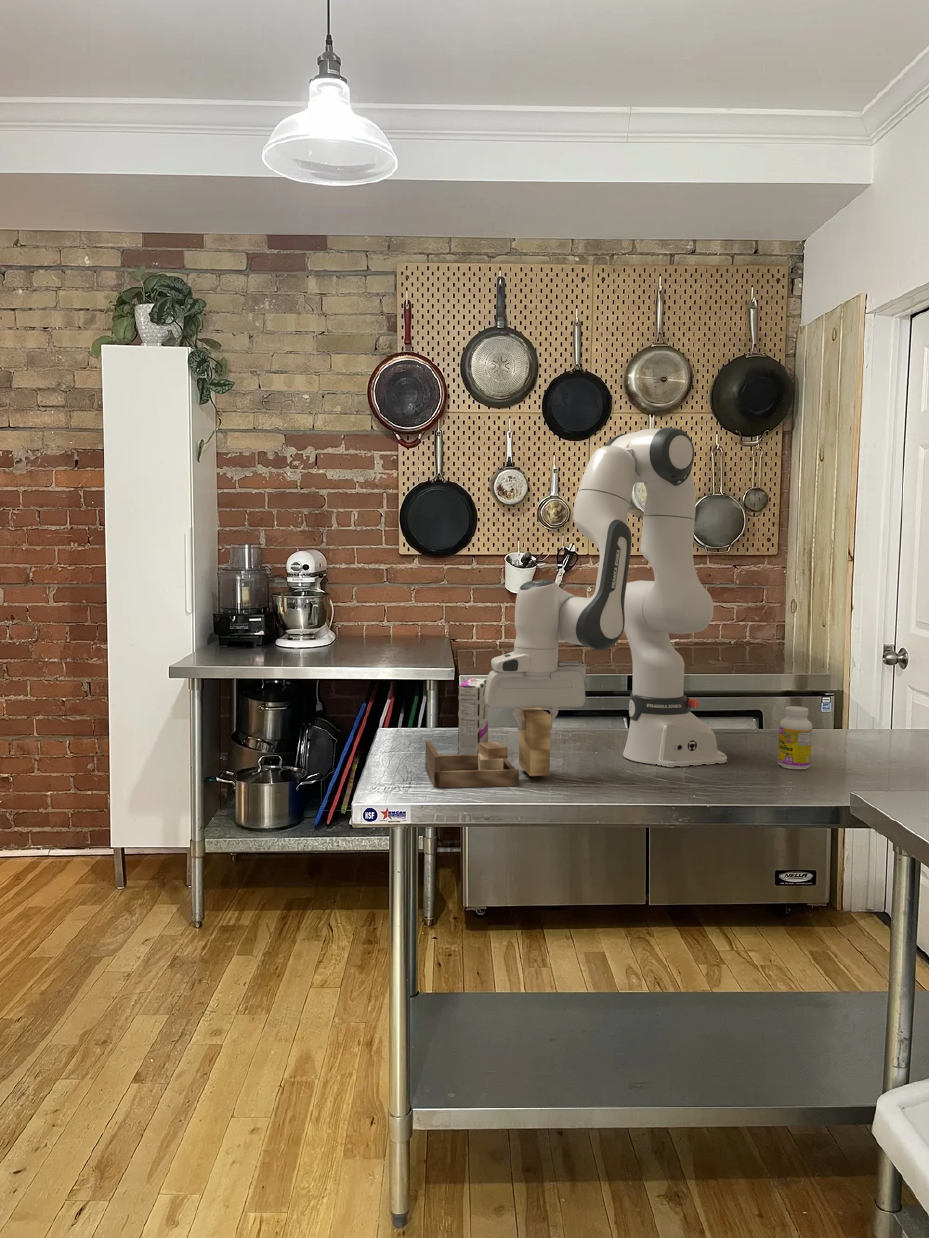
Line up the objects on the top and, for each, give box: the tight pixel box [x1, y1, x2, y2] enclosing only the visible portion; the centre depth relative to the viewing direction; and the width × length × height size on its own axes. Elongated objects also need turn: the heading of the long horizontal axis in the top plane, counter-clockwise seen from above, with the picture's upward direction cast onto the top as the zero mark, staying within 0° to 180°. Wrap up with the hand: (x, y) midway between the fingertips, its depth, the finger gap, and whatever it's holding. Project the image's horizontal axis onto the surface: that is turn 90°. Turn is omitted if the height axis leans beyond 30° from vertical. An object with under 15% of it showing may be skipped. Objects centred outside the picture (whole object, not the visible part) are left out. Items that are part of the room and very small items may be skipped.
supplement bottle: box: [777, 705, 813, 768], centre depth 203 cm, size 7×7×13 cm
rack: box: [424, 740, 520, 788], centre depth 190 cm, size 16×14×6 cm
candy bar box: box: [457, 677, 489, 755], centre depth 209 cm, size 11×5×16 cm, turn 168°
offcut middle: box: [478, 753, 503, 770], centre depth 191 cm, size 4×8×2 cm, turn 2°
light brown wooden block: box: [518, 708, 552, 777], centre depth 191 cm, size 4×10×12 cm, turn 9°
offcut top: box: [478, 741, 508, 759], centre depth 191 cm, size 4×6×2 cm, turn 19°
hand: (534, 729), depth 191 cm, fingers closed on light brown wooden block, 4 cm apart
